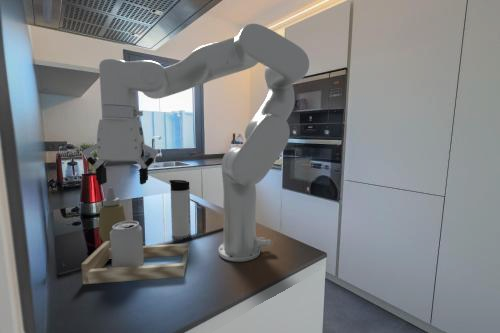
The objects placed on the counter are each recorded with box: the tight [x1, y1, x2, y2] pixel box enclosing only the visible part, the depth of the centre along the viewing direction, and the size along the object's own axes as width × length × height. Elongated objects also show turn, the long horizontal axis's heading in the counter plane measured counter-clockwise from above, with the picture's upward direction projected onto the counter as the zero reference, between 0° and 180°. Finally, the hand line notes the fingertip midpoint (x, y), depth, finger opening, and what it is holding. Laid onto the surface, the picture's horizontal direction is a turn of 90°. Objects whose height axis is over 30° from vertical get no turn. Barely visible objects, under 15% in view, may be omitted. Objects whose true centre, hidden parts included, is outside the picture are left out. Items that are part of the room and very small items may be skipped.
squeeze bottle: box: [98, 187, 127, 244], centre depth 78 cm, size 8×8×18 cm
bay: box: [80, 241, 190, 285], centre depth 64 cm, size 23×12×5 cm, turn 98°
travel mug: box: [168, 179, 192, 240], centre depth 83 cm, size 6×7×20 cm
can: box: [110, 220, 145, 268], centre depth 63 cm, size 8×8×12 cm
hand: (123, 183), depth 61 cm, fingers open, 9 cm apart
